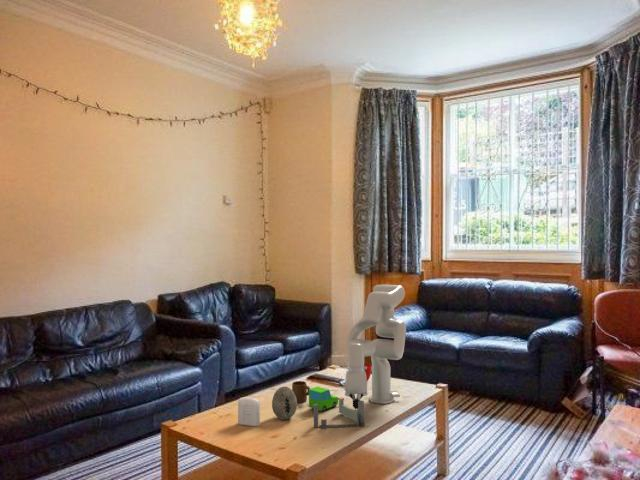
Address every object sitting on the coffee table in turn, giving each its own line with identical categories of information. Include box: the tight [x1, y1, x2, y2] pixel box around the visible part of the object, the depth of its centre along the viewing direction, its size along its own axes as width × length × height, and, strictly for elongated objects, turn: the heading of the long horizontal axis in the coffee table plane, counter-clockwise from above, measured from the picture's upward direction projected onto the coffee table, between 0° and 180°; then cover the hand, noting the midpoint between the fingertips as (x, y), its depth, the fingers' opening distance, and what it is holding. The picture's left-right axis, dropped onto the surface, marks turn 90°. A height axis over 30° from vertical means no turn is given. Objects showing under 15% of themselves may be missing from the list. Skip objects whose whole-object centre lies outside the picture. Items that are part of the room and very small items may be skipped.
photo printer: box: [237, 396, 261, 427], centre depth 227 cm, size 10×4×12 cm, turn 72°
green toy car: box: [308, 386, 339, 413], centre depth 248 cm, size 10×13×10 cm
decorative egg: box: [271, 386, 298, 420], centre depth 234 cm, size 12×12×15 cm
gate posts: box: [312, 400, 366, 430], centre depth 223 cm, size 23×4×11 cm, turn 91°
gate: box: [338, 396, 358, 424], centre depth 232 cm, size 16×2×7 cm, turn 29°
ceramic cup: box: [364, 362, 372, 382], centre depth 288 cm, size 13×17×10 cm
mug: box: [291, 380, 311, 404], centre depth 257 cm, size 12×8×9 cm, turn 44°
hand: (356, 408), depth 234 cm, fingers closed
